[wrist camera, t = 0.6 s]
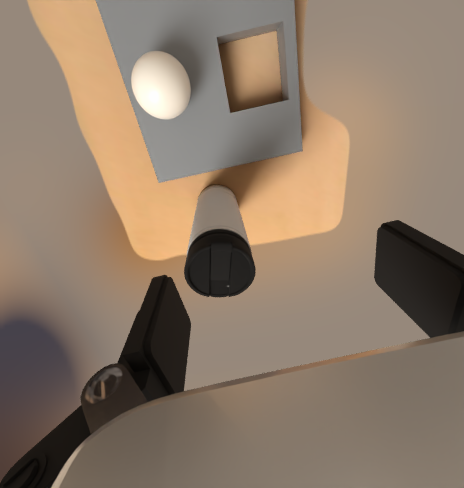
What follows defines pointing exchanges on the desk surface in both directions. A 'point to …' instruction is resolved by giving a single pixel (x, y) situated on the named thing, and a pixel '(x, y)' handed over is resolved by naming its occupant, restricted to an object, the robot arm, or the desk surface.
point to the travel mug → (218, 246)
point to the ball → (161, 85)
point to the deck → (207, 80)
